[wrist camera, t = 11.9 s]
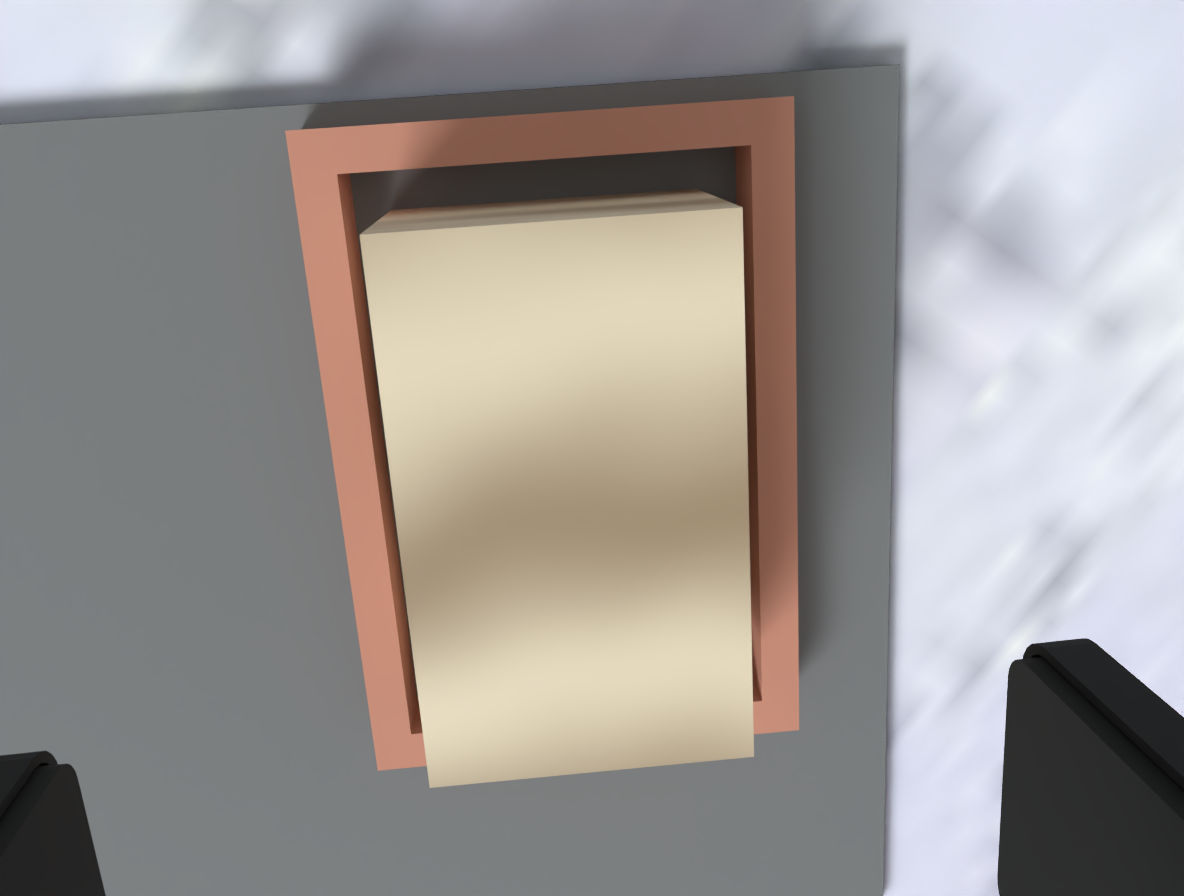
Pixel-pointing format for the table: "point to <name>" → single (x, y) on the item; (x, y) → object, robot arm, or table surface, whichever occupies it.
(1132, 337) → the table surface
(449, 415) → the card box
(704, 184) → the mat
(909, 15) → the table surface
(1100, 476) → the table surface
